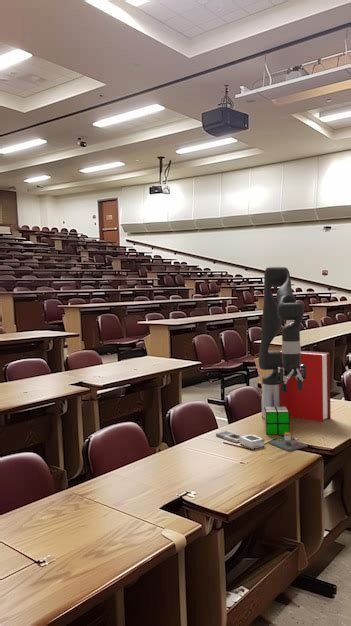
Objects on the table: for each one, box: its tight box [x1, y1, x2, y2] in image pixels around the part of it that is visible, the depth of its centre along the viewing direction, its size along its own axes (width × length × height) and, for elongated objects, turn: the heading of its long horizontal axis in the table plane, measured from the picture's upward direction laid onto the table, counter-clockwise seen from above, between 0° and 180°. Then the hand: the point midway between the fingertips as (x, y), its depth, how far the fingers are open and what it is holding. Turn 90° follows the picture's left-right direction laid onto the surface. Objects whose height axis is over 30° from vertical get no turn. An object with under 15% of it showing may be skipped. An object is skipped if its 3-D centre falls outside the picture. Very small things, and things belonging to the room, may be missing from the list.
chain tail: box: [215, 430, 243, 444], centre depth 207 cm, size 13×6×1 cm, turn 37°
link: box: [239, 433, 265, 450], centre depth 197 cm, size 8×6×3 cm
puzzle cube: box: [263, 407, 290, 436], centre depth 215 cm, size 10×10×10 cm
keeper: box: [268, 431, 308, 452], centre depth 196 cm, size 12×10×5 cm
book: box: [273, 349, 332, 423], centre depth 239 cm, size 27×8×32 cm, turn 48°
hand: (291, 391), depth 196 cm, fingers open, 8 cm apart
